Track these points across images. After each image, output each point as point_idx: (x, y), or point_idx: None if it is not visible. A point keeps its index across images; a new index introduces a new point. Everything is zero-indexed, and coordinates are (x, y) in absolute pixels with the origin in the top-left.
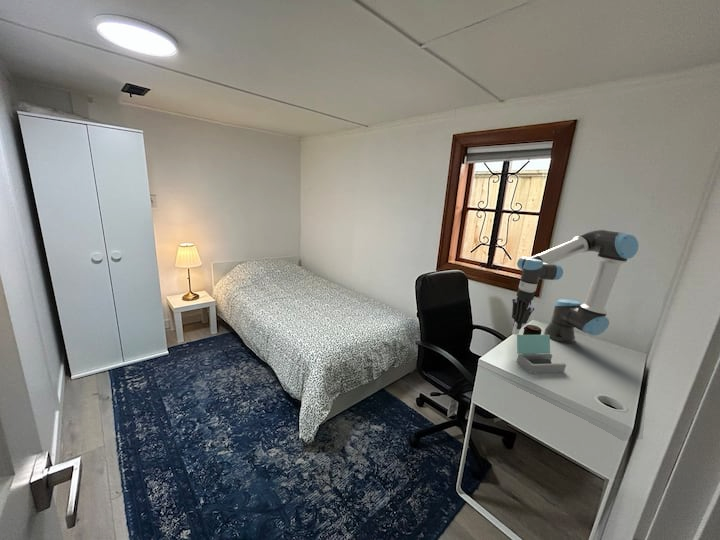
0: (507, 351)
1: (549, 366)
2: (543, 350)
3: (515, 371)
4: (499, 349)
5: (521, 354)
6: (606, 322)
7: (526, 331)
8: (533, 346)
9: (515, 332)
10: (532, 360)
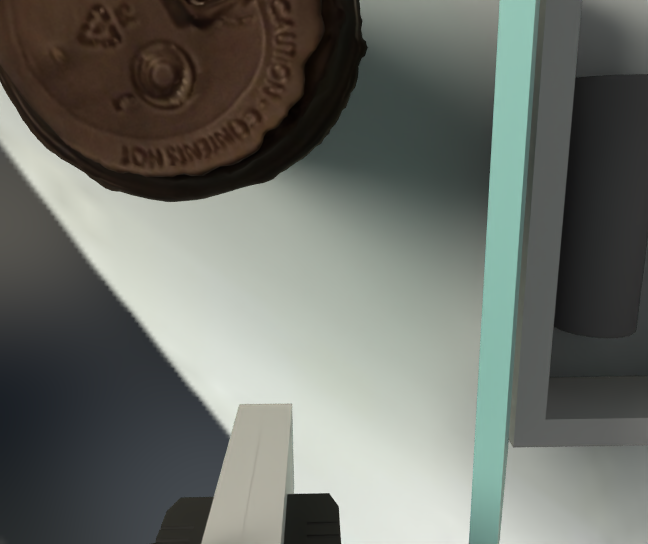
0: (285, 370)
1: None
2: (534, 73)
3: (633, 520)
4: None
5: (520, 413)
6: None
7: (208, 196)
8: (520, 257)
9: (291, 492)
10: (616, 330)
